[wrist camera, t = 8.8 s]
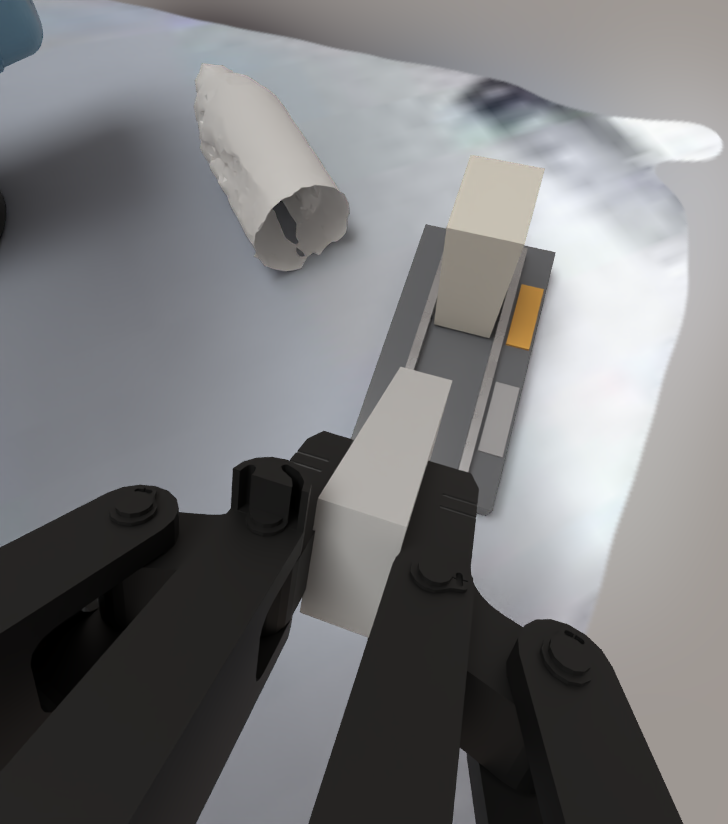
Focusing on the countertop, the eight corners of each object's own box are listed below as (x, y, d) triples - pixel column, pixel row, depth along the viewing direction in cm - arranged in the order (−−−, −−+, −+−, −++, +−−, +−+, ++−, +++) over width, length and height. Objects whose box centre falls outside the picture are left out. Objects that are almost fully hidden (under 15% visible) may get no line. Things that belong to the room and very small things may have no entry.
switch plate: (485, 515, 32) (495, 509, 29) (346, 471, 34) (340, 460, 30) (546, 272, 38) (559, 243, 35) (424, 245, 40) (426, 215, 36)
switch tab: (489, 338, 33) (524, 244, 24) (433, 324, 34) (446, 227, 25) (505, 279, 35) (544, 168, 25) (452, 266, 35) (470, 154, 26)
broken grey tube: (268, 108, 46) (242, 17, 39) (356, 246, 40) (346, 170, 33) (193, 141, 46) (152, 55, 38) (271, 287, 39) (240, 219, 32)
